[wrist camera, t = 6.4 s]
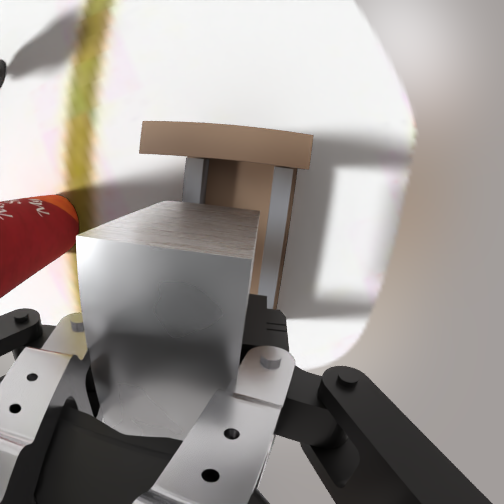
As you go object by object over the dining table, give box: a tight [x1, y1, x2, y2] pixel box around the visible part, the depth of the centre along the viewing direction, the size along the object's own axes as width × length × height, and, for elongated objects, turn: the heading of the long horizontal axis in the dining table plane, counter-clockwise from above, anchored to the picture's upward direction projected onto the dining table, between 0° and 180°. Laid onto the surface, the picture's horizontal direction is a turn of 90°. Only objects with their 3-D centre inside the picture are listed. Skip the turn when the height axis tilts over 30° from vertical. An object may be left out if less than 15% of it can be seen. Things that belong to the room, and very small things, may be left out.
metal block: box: [76, 200, 260, 441], centre depth 9 cm, size 8×4×6 cm, turn 173°
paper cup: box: [0, 195, 79, 298], centre depth 18 cm, size 8×8×14 cm
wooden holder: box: [139, 121, 313, 310], centre depth 19 cm, size 14×8×11 cm, turn 173°
